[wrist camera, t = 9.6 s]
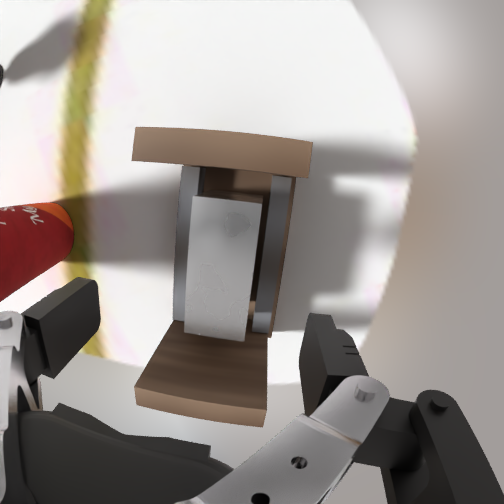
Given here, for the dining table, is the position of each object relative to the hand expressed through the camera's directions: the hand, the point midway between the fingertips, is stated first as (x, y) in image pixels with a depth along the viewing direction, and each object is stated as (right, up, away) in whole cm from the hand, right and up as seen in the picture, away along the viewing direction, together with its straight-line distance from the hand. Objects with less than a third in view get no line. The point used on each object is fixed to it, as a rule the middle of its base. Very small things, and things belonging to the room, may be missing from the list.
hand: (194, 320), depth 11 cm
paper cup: (-16, +4, +13) cm, 22 cm away
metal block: (+1, +3, +12) cm, 12 cm away
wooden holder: (+1, +3, +13) cm, 13 cm away
